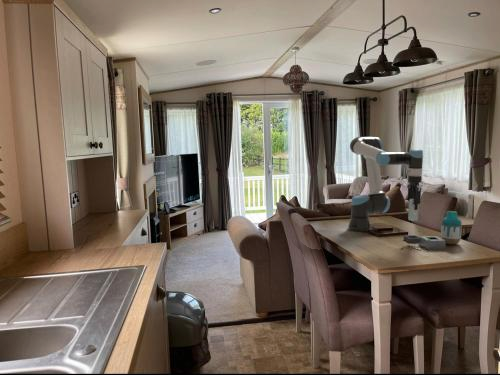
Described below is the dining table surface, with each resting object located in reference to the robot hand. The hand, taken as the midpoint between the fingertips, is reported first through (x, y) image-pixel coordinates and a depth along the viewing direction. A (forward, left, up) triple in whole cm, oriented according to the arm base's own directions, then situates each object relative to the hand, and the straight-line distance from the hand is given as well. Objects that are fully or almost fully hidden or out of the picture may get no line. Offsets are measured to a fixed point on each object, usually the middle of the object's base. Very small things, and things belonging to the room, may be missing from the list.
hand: (413, 214), depth 234 cm
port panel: (+14, +5, -16) cm, 22 cm away
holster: (0, 0, -16) cm, 16 cm away
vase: (+9, +19, -17) cm, 27 cm away
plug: (0, 0, -4) cm, 4 cm away
